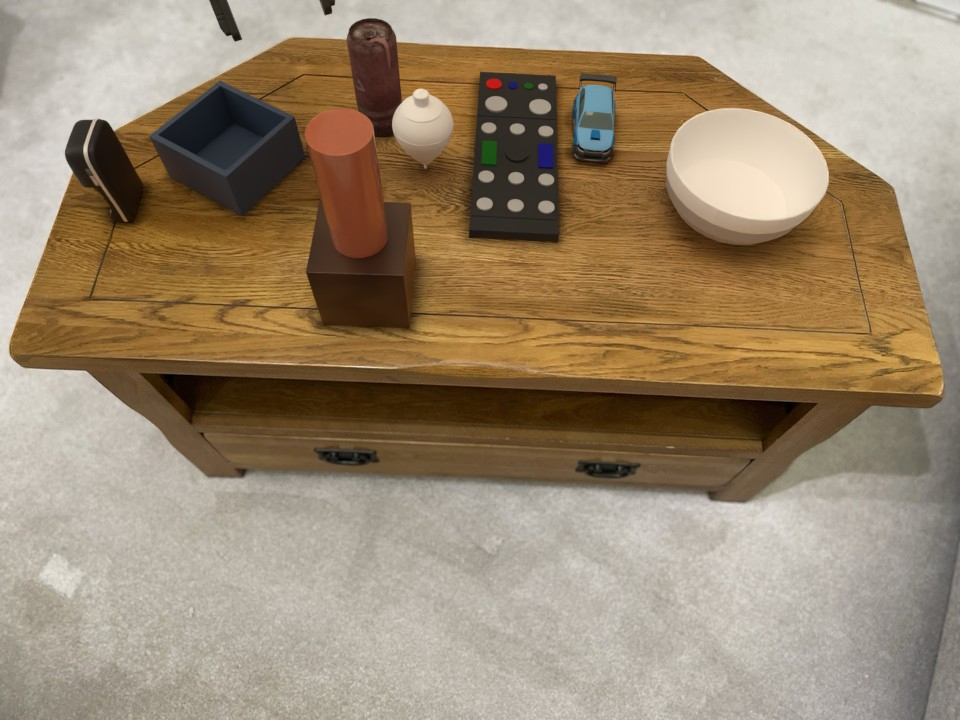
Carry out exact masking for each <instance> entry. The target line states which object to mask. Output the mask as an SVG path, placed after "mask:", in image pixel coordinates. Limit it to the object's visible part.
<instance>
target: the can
mask: <svg viewBox="0 0 960 720" xmlns="http://www.w3.org/2000/svg"><path fill="white" fill-rule="evenodd" d="M346 45H347V52H348V58H349V64H350V71H351V76H352V82H353V87H354V88H353V89H354V96H355V102H356V107H357V108H356V109H357V111H358V112H361V113H362V114H364V115H365V116H367V117H368V118H369V120H370V121H371V123H372V125H373V129H374V136H376V137H386V136H390V135H394V133H393V129H392V120H393V116H394V113H395V111H396V109H397V108H398V106H399V105H400V104H401V103H402V102H403V98H402V97H403V96H402V88H401V87H402V86H401V76H400V75H401V74H400V64H399V52H398V42H397V35H396V33H395V31H394V29H393V28H392V25H391V24H389V23H388V22H387V21H386V20H384V19H380V18H376V17H368V18H361V19H359V20H357V21H355V22H353V23H352V24H351V25H350V27H349V28H348V33H347V35H346Z"/></svg>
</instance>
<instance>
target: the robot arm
mask: <svg viewBox="0 0 960 720" xmlns="http://www.w3.org/2000/svg"><path fill="white" fill-rule="evenodd" d="M208 1H209V4H210V6H211V8H212V11H213V14H214V16H215V19H216V21H217V24H218V26H219V29H220V30H221V31H222V33H223V34H224V35H225V36H226V37H230V36H231V38H232V40H233V41H234V42H235V43H236V42H239V41H243V37H242V35H241V32H240V29H239V27H238V25H237V22H236V19H235V17H234V14H233V11H232V9H231V6H230V4H229V2H228V0H208ZM318 1H319V3H320V7H321V9H322V12H323V16H329V15H332V14H333V8H332V7H334V6H336V0H318Z"/></svg>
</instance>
